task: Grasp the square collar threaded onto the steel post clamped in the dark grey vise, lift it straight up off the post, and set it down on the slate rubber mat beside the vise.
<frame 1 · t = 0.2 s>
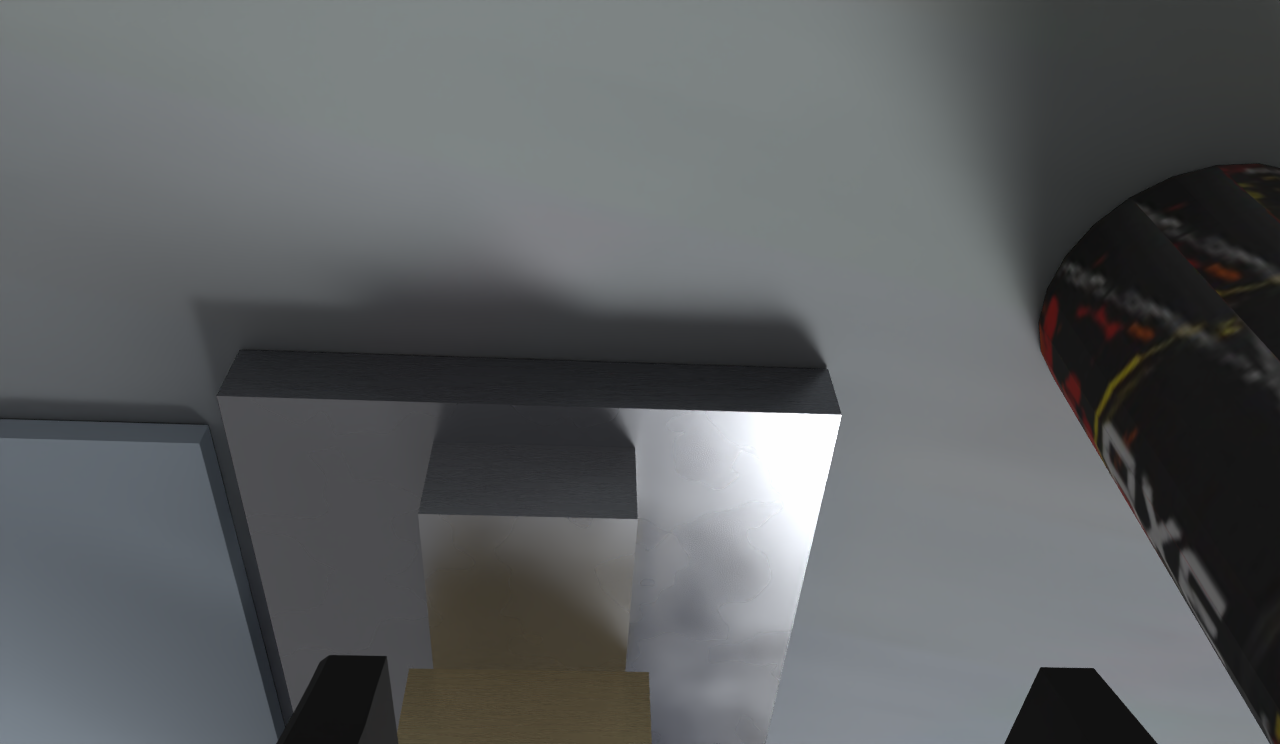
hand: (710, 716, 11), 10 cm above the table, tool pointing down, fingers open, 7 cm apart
collar: (530, 739, 23), point 3 cm above the table, touching vise
mat: (59, 633, 25), on the table
vise: (538, 616, 25), on the table
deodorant: (1184, 294, 20), on the table
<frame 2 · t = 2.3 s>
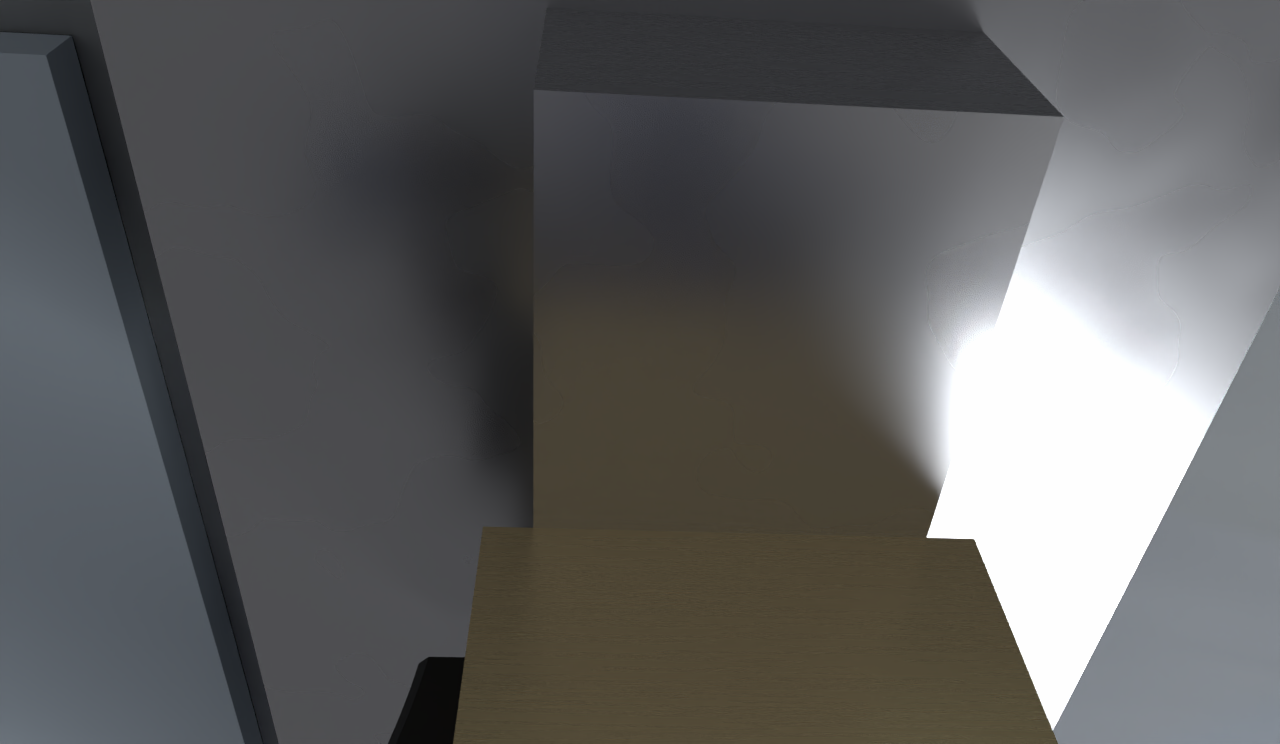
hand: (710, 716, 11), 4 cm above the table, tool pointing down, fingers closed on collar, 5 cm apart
collar: (706, 686, 12), point 3 cm above the table, touching gripper, vise
vise: (687, 480, 14), on the table
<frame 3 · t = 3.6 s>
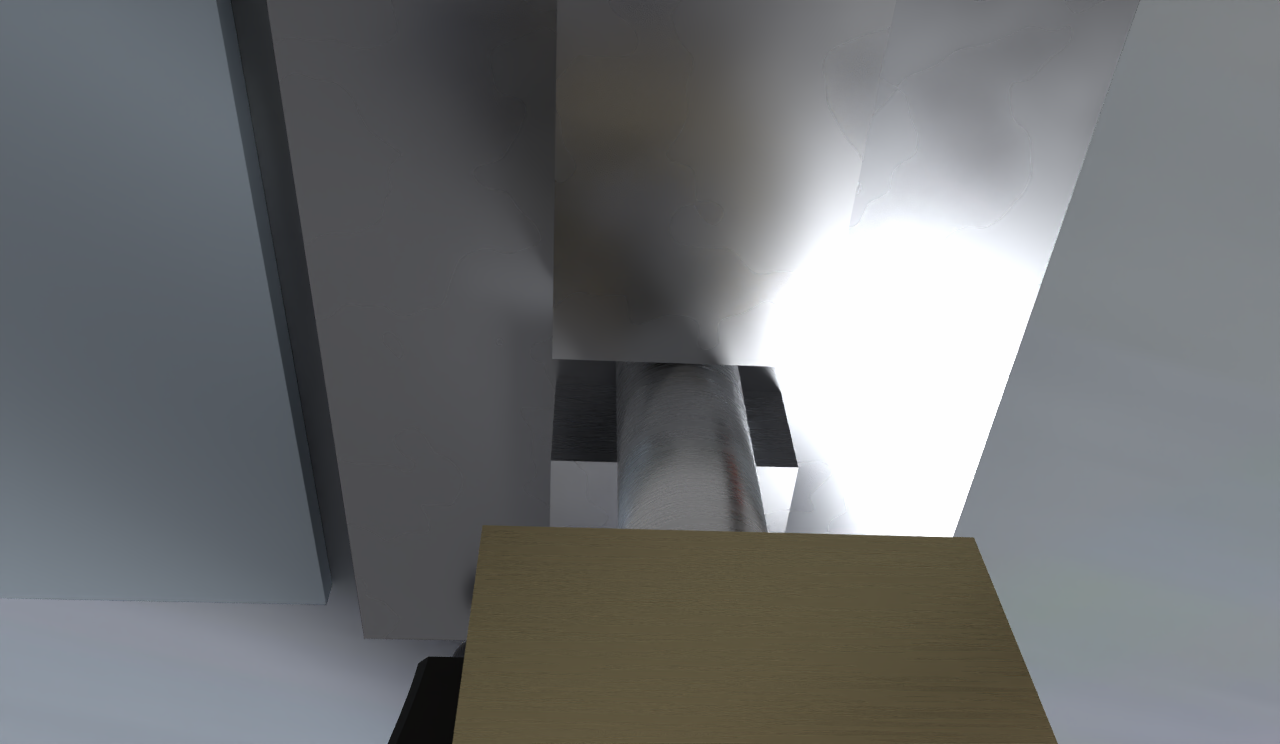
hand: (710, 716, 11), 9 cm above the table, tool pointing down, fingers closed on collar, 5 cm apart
collar: (706, 685, 12), point 8 cm above the table, touching gripper
mat: (7, 316, 18), on the table
vise: (669, 295, 18), on the table
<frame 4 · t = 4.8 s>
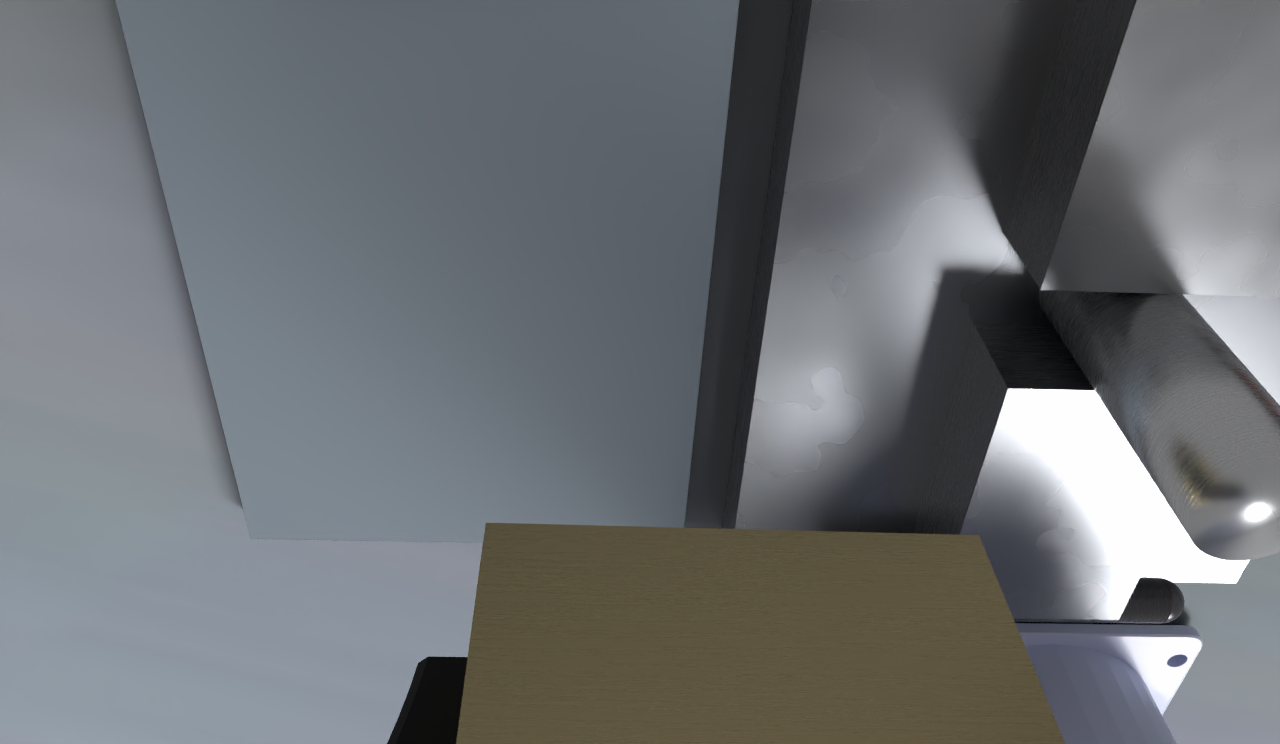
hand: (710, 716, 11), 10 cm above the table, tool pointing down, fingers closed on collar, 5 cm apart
collar: (710, 683, 12), point 10 cm above the table, touching gripper
mat: (454, 269, 20), on the table
vise: (1064, 243, 20), on the table
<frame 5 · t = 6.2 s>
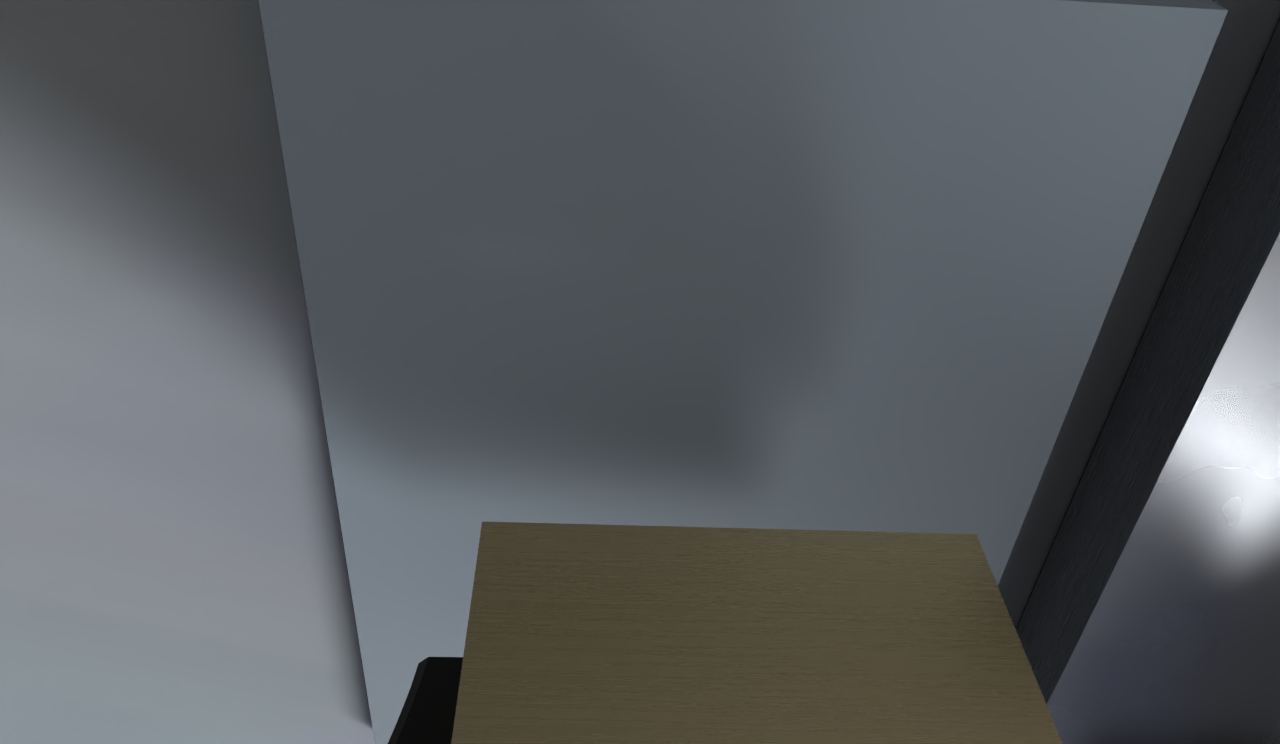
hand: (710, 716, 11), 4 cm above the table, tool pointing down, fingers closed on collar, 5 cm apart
collar: (707, 682, 12), point 4 cm above the table, touching gripper
mat: (687, 462, 15), on the table
when the fingers open (3 cm above the table, at t = 7.5 s): collar drops 2 cm, resting on mat.
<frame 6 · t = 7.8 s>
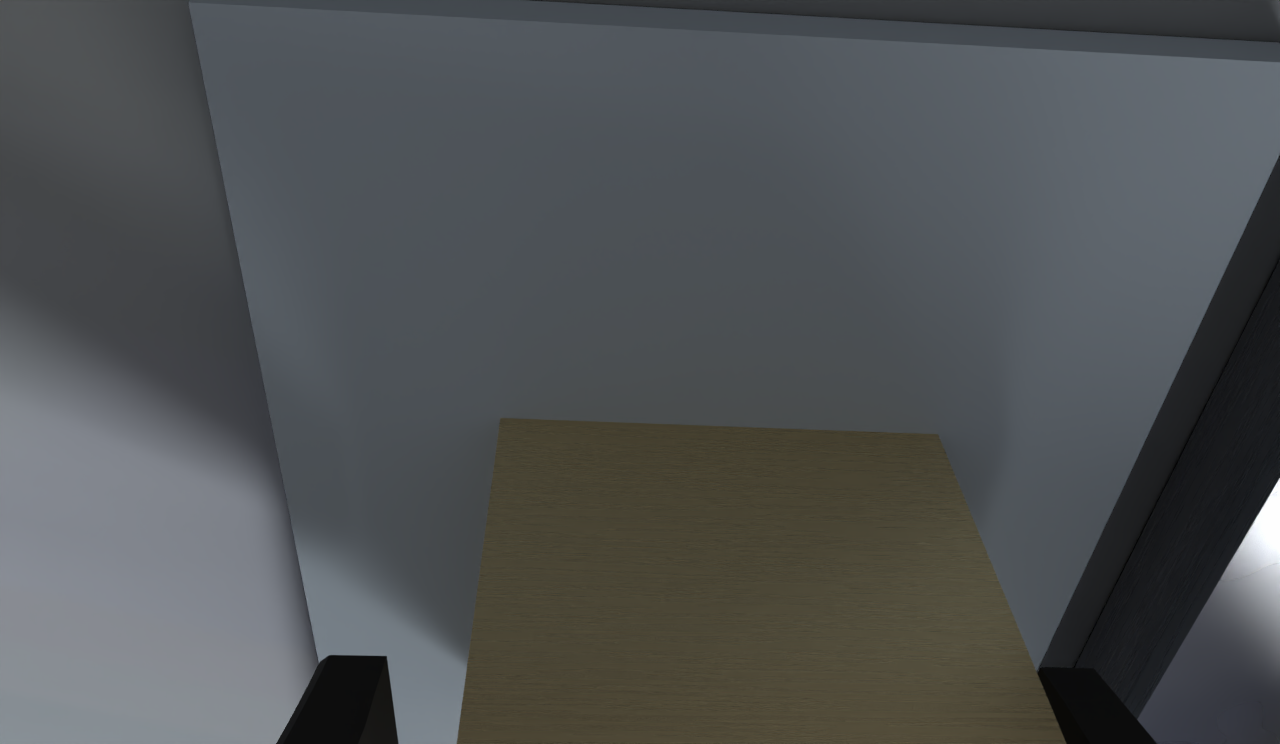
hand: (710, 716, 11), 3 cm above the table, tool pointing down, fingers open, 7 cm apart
collar: (699, 577, 13), point 1 cm above the table, touching mat
mat: (693, 547, 13), on the table
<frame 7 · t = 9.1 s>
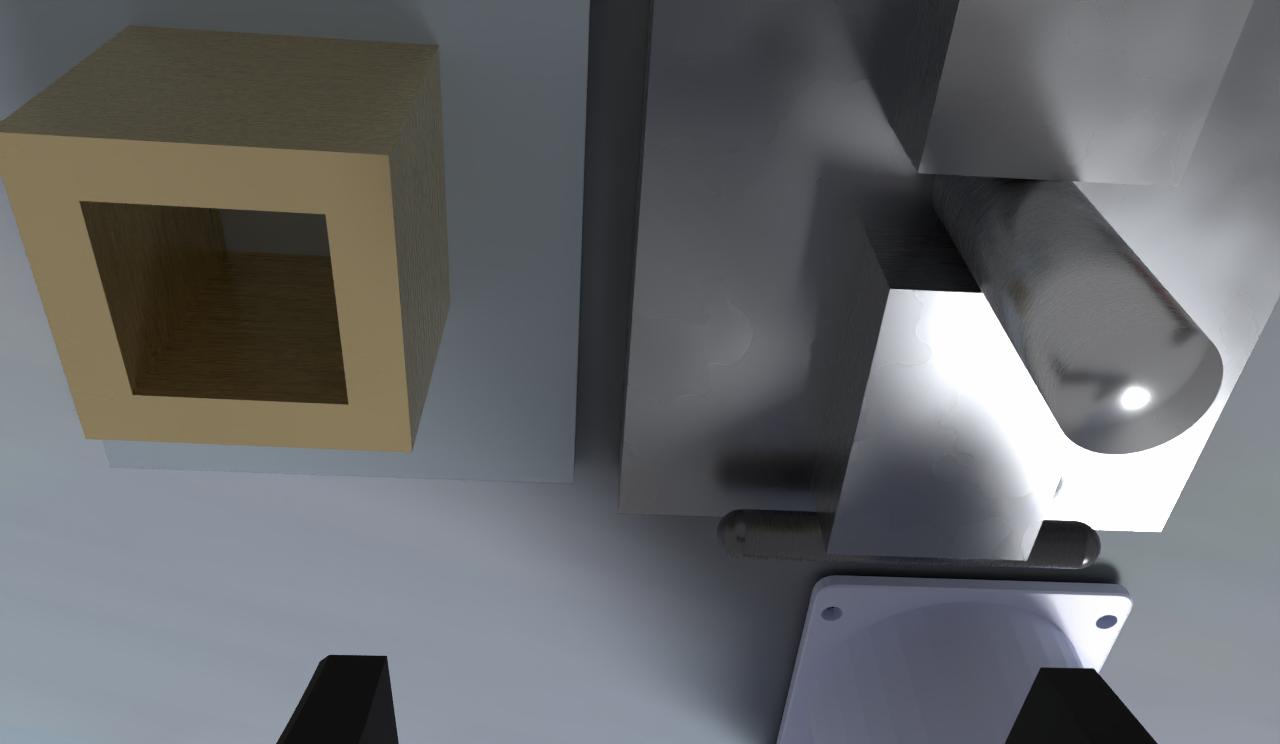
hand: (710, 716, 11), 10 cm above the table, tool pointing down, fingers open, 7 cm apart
collar: (303, 176, 18), point 1 cm above the table, touching mat
mat: (311, 166, 18), on the table
vise: (966, 149, 19), on the table
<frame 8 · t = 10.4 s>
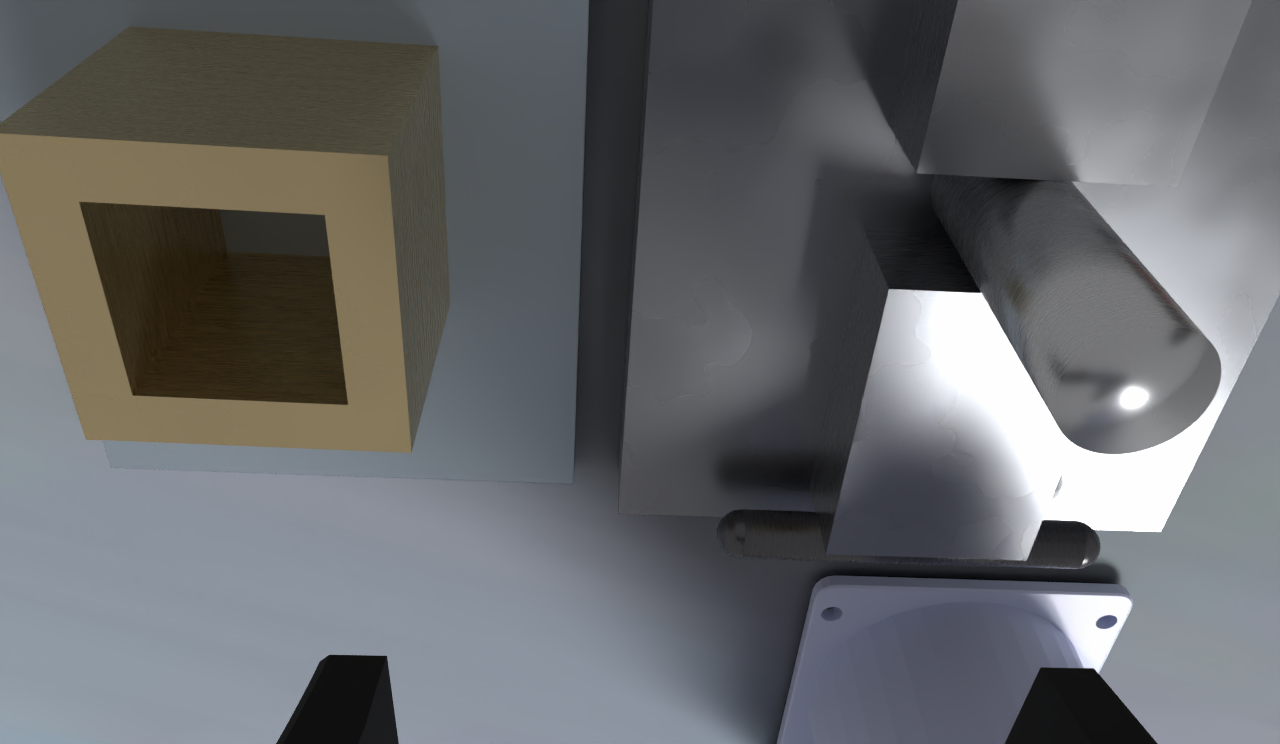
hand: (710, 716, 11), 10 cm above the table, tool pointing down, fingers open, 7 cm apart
collar: (303, 177, 18), point 1 cm above the table, touching mat
mat: (311, 167, 18), on the table
vise: (965, 149, 19), on the table
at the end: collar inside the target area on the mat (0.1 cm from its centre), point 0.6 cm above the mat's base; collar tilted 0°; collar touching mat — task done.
